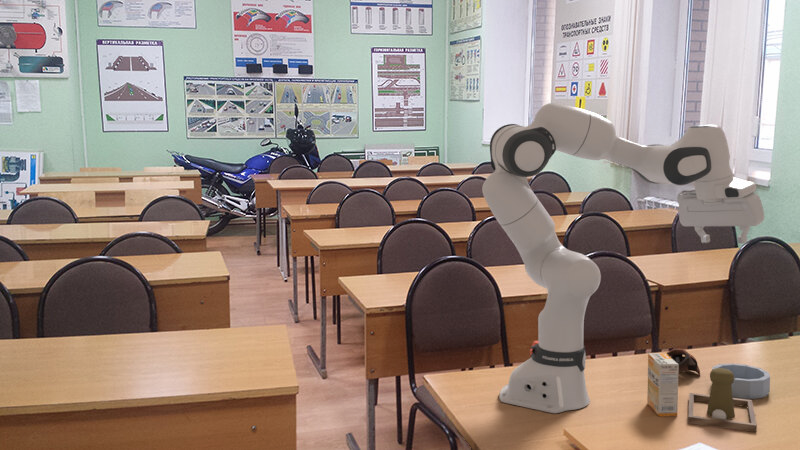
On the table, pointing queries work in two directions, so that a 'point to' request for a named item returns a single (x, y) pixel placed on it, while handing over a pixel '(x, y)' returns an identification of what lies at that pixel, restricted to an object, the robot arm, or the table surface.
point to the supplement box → (662, 384)
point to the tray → (720, 422)
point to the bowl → (748, 381)
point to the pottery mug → (684, 360)
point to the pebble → (719, 414)
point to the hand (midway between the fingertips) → (723, 242)
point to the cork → (721, 392)
